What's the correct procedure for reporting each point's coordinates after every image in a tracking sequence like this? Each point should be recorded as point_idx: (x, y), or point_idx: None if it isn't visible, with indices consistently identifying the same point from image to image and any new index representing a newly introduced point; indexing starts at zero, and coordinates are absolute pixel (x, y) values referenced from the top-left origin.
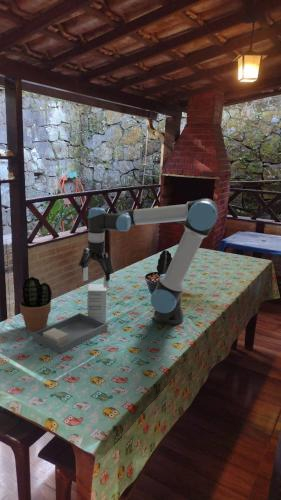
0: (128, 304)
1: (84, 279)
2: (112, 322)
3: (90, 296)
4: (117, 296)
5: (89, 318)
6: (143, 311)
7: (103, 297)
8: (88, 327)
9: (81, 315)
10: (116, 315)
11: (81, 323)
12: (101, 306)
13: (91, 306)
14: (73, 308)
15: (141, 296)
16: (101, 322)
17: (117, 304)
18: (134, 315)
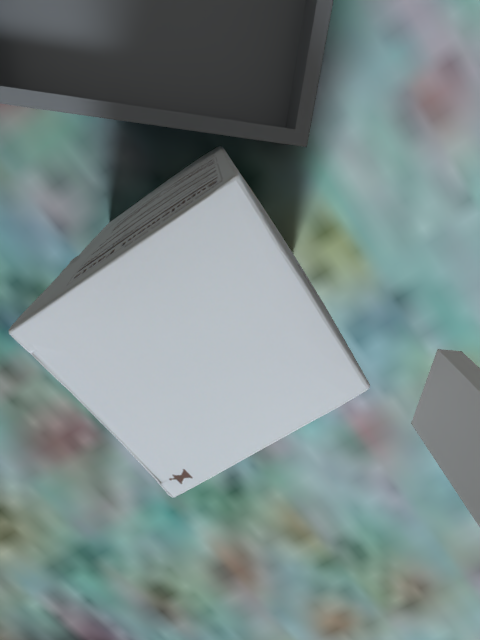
0: (172, 510)
1: (446, 373)
2: (76, 256)
3: (198, 184)
4: (292, 553)
5: (174, 112)
6: (34, 486)
7: (66, 274)
8: (134, 38)
9: (272, 126)
10: None
11: (230, 72)
12: (108, 234)
13: (190, 176)
14: (443, 286)
15: (178, 613)
16: (22, 89)
17: (226, 479)
18: (37, 418)
